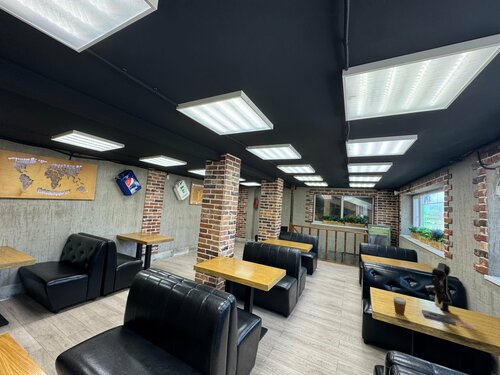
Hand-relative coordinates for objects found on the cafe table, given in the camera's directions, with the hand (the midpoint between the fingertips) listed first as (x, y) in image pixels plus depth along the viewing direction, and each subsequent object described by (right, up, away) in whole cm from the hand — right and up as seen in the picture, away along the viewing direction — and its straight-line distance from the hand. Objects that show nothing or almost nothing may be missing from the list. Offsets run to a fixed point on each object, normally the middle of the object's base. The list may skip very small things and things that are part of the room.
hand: (438, 302), depth 176 cm
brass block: (0, -3, 0) cm, 3 cm away
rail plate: (-1, -13, -1) cm, 13 cm away
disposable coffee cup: (-32, -11, +3) cm, 34 cm away
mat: (+13, -13, -9) cm, 21 cm away
